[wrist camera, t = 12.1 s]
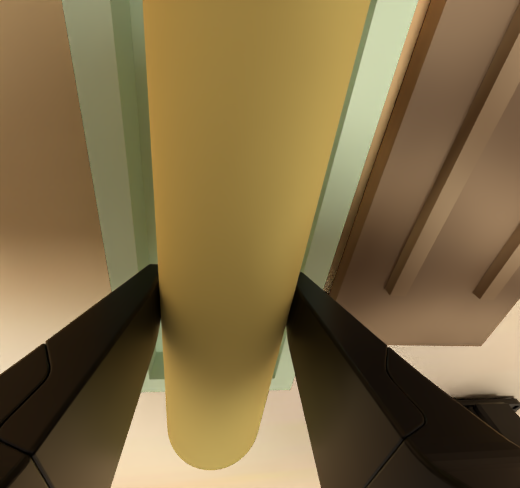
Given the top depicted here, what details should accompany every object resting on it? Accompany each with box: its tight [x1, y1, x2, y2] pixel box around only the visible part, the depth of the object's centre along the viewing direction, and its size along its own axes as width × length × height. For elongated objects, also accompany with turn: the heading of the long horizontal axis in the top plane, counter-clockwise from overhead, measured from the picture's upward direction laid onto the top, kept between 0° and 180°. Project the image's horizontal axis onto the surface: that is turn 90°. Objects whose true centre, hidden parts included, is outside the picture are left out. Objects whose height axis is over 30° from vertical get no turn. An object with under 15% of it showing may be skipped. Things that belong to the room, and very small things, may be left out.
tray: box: [62, 0, 418, 392], centre depth 11 cm, size 17×8×2 cm, turn 172°
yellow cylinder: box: [142, 0, 371, 470], centre depth 8 cm, size 13×4×4 cm, turn 172°
